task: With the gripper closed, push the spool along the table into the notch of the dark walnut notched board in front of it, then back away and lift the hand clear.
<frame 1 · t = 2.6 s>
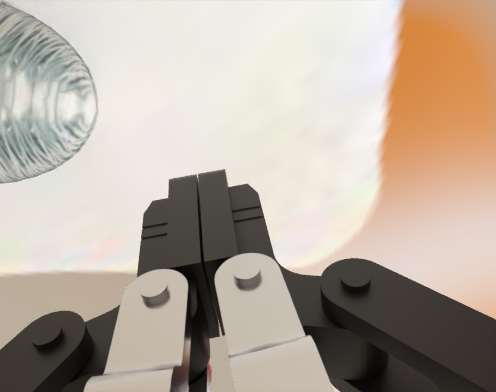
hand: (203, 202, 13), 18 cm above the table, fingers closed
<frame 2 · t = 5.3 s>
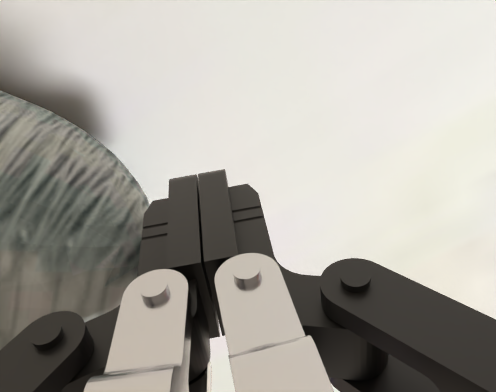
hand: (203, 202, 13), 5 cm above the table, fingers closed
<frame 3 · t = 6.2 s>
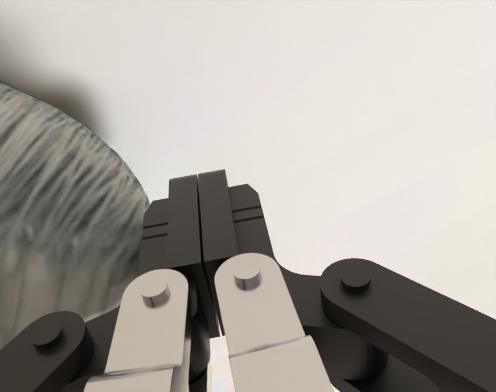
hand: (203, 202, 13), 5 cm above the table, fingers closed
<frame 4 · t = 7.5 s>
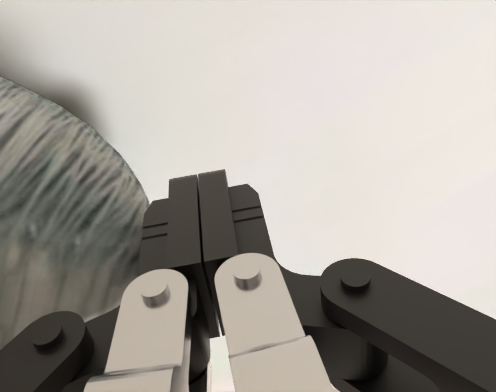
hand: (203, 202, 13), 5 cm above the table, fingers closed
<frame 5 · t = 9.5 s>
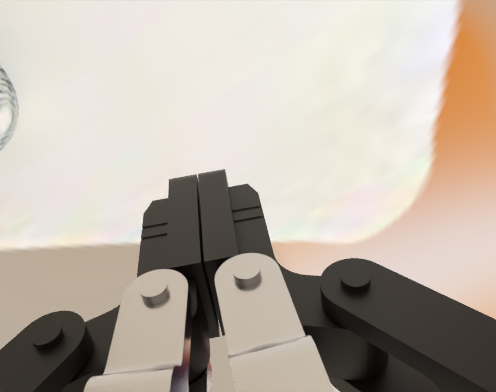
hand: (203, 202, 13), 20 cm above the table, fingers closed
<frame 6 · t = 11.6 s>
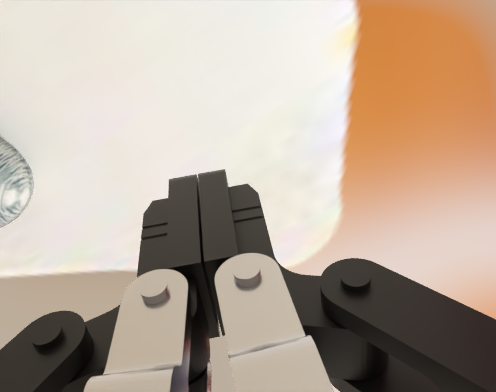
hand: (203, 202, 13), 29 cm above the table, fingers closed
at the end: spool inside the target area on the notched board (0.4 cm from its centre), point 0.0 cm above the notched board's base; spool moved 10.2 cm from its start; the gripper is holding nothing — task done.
